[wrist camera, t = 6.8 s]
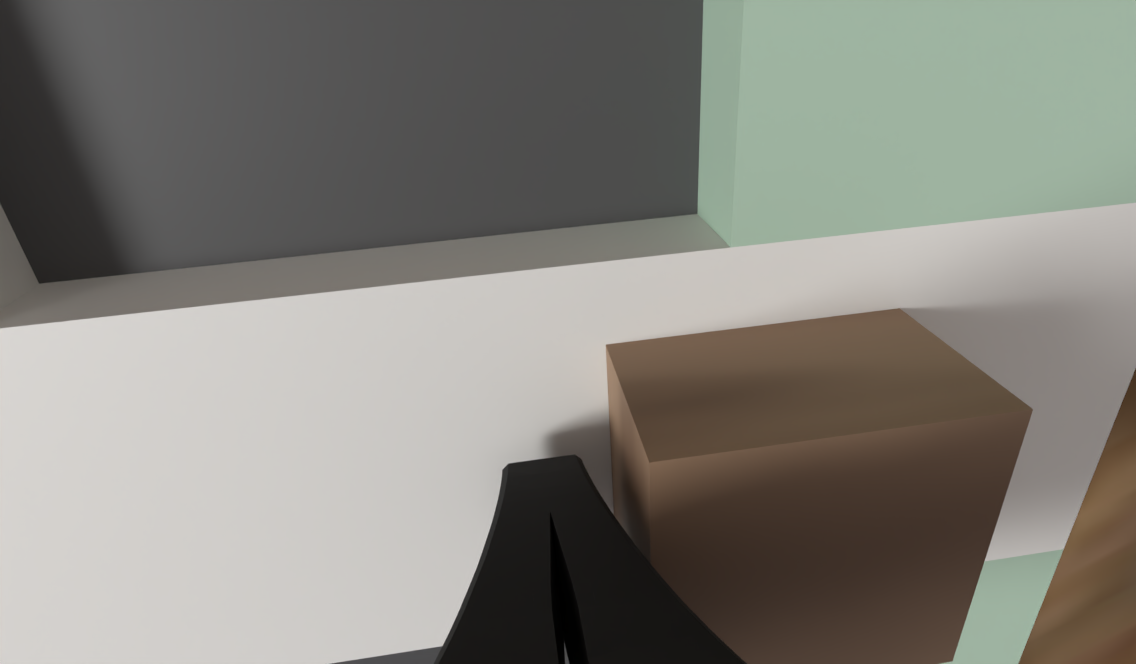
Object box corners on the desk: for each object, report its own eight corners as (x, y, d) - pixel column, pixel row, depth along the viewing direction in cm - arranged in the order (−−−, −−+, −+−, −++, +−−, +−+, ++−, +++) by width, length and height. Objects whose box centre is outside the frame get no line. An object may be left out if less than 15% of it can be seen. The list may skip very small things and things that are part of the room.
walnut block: (858, 528, 13) (952, 661, 11) (616, 565, 13) (652, 712, 10) (899, 308, 11) (1033, 408, 8) (605, 344, 11) (648, 462, 8)
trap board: (949, 647, 19) (997, 713, 17) (0, 805, 17) (-55, 899, 15) (1230, -241, 10) (1397, -291, 8) (-818, -135, 8) (-1207, -171, 6)
